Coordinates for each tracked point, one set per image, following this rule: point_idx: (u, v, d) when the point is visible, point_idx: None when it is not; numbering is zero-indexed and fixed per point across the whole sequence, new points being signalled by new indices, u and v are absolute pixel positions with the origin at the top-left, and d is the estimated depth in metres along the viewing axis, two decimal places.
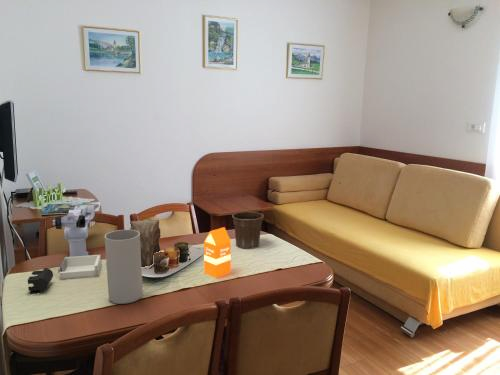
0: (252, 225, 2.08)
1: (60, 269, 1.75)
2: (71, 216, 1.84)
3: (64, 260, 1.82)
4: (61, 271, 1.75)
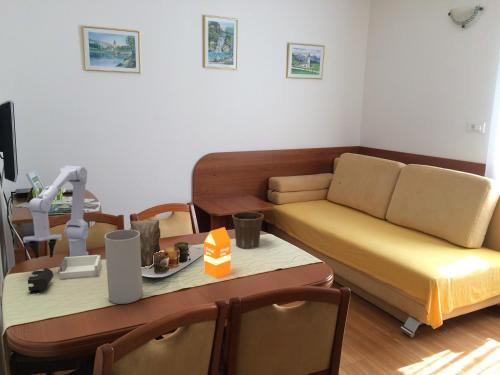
0: (252, 225, 2.08)
1: (60, 269, 1.75)
2: None
3: (64, 260, 1.82)
4: (61, 271, 1.75)
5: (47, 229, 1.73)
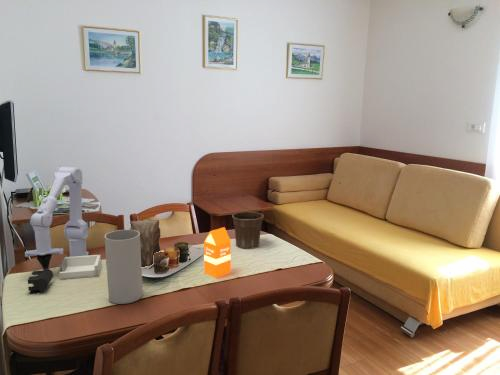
0: (252, 225, 2.08)
1: (60, 269, 1.75)
2: None
3: (64, 260, 1.82)
4: (61, 271, 1.75)
5: (49, 243, 1.74)
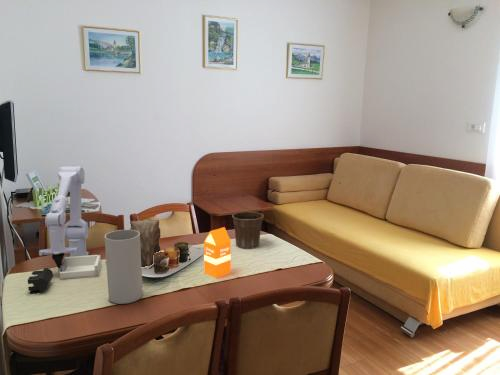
0: (252, 225, 2.08)
1: (60, 269, 1.75)
2: None
3: (64, 260, 1.82)
4: (61, 271, 1.75)
5: (63, 242, 1.75)
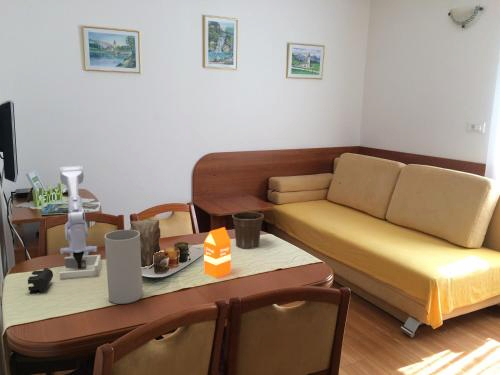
0: (252, 225, 2.08)
1: (85, 262, 1.82)
2: None
3: None
4: (85, 264, 1.83)
5: (83, 241, 1.78)
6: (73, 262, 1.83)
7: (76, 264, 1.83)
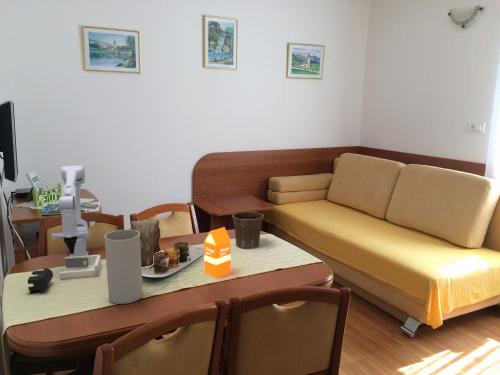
0: (252, 225, 2.08)
1: (87, 260, 1.84)
2: None
3: (70, 258, 1.84)
4: (87, 262, 1.85)
5: (75, 226, 1.76)
6: (75, 262, 1.84)
7: (77, 263, 1.84)
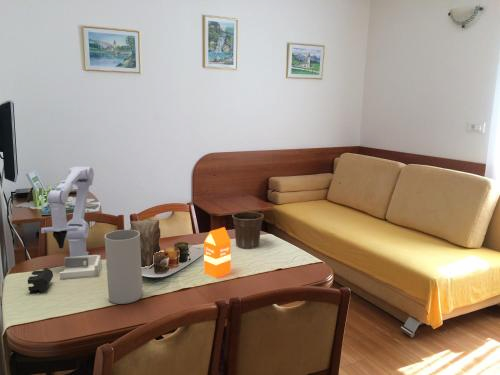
0: (252, 225, 2.08)
1: (87, 260, 1.84)
2: None
3: (70, 258, 1.84)
4: (87, 262, 1.85)
5: (64, 220, 1.79)
6: (75, 262, 1.84)
7: (77, 263, 1.84)
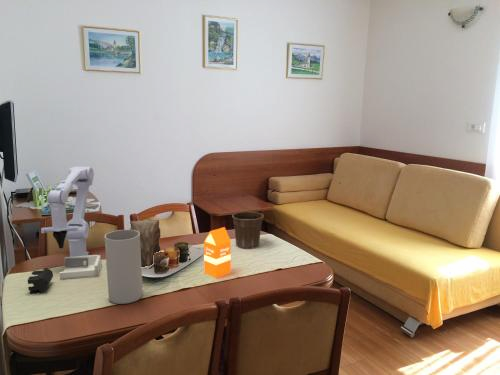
0: (252, 225, 2.08)
1: (87, 260, 1.84)
2: None
3: (70, 258, 1.84)
4: (87, 262, 1.85)
5: (64, 220, 1.79)
6: (75, 262, 1.84)
7: (77, 263, 1.84)
